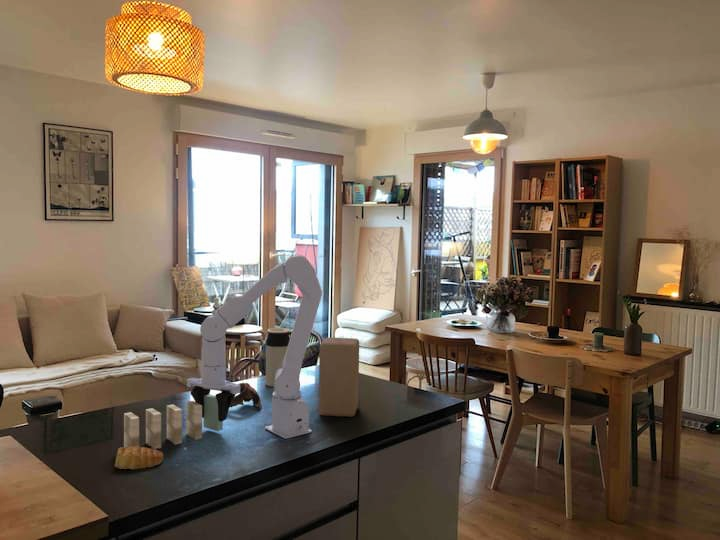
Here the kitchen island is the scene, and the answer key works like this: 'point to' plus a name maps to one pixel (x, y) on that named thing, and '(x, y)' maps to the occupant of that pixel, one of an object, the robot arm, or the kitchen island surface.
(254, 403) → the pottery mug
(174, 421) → the domino
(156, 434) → the domino
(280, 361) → the travel mug
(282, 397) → the robot arm
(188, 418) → the domino
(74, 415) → the kitchen island surface
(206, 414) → the domino
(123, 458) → the pastry
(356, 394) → the wooden block
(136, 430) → the domino
